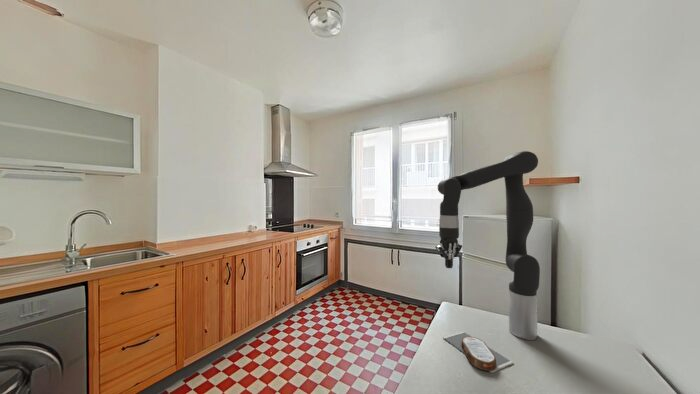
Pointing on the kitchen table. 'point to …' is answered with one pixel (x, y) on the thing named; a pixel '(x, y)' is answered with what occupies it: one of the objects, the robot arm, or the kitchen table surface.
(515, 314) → the robot arm
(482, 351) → the tin
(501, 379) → the kitchen table surface
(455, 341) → the mat
